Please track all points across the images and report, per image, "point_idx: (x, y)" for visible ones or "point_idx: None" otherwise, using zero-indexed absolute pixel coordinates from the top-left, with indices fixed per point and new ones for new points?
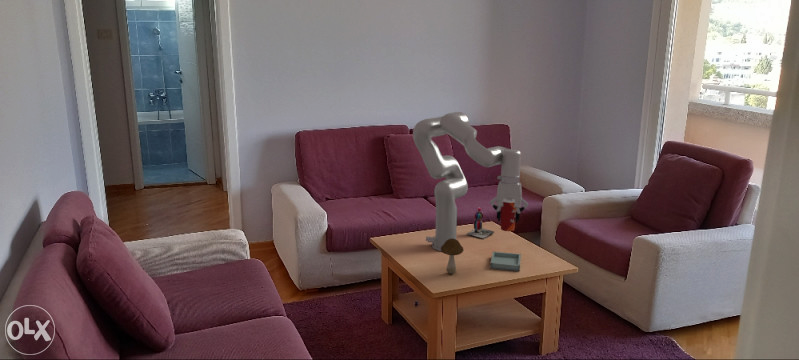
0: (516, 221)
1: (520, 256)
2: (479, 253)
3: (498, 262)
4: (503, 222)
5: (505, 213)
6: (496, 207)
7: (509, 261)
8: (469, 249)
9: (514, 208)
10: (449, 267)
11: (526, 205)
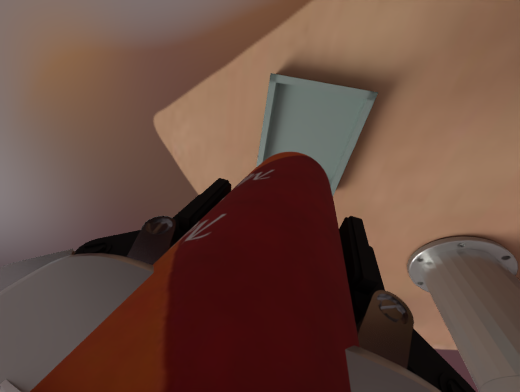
0: (223, 182)
1: (258, 159)
2: (362, 216)
3: (330, 137)
4: (323, 186)
5: (308, 225)
6: (416, 366)
7: (293, 145)
8: (382, 242)
9: (165, 256)
10: None
11: (19, 272)
